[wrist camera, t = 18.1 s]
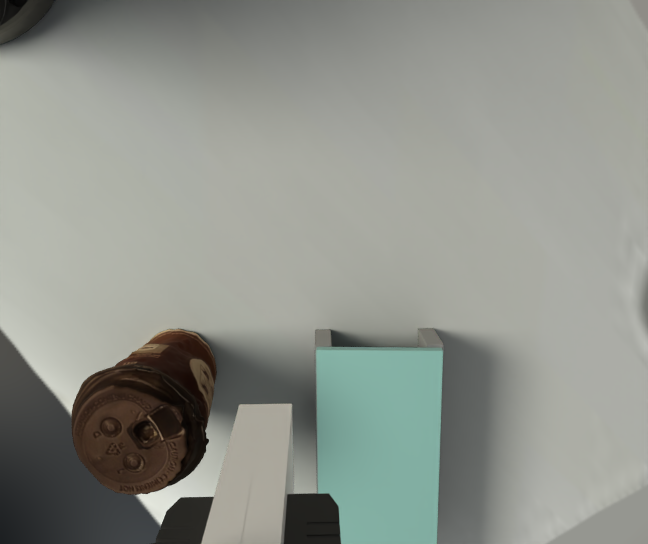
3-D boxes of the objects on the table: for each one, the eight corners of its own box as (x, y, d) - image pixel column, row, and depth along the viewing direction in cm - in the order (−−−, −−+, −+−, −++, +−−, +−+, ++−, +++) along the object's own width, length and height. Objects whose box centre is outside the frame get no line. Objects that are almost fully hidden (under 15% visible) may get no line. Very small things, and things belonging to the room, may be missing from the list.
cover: (316, 346, 44) (316, 350, 43) (441, 347, 43) (443, 350, 43) (319, 564, 47) (319, 570, 47) (434, 567, 47) (435, 573, 46)
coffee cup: (242, 327, 48) (213, 392, 35) (226, 422, 49) (193, 518, 37) (133, 307, 47) (63, 366, 35) (120, 404, 49) (50, 494, 36)
